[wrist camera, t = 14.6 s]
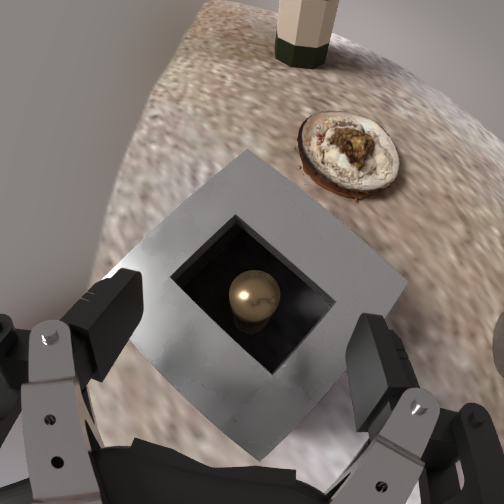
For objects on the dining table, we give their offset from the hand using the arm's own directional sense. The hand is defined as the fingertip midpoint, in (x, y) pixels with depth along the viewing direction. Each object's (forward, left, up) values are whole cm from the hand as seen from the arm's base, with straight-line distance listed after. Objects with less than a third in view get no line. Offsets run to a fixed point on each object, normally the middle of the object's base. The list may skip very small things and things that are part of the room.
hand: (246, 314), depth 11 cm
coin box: (-2, -1, -16) cm, 16 cm away
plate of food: (-23, -5, -17) cm, 29 cm away
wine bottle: (-36, -22, -16) cm, 45 cm away
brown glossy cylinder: (-2, -1, -16) cm, 16 cm away
